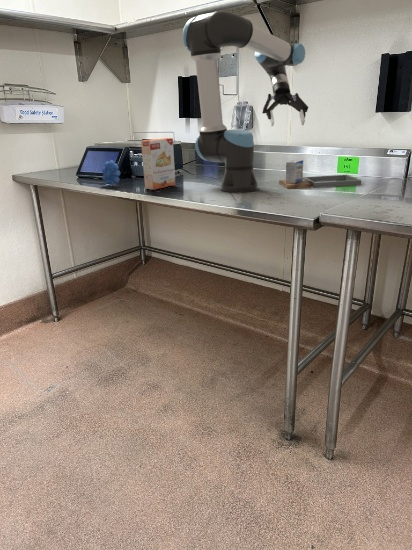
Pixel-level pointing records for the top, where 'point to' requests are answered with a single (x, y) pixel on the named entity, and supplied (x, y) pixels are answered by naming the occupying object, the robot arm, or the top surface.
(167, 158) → the cracker box
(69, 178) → the top surface
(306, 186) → the walnut board
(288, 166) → the medicine box
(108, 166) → the grapes
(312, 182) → the bin
